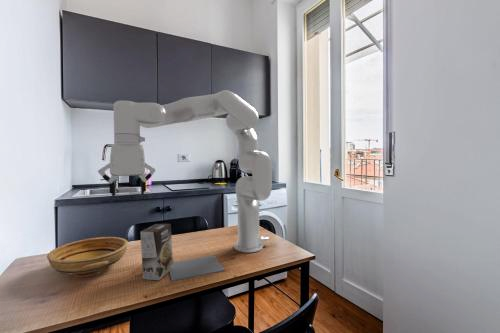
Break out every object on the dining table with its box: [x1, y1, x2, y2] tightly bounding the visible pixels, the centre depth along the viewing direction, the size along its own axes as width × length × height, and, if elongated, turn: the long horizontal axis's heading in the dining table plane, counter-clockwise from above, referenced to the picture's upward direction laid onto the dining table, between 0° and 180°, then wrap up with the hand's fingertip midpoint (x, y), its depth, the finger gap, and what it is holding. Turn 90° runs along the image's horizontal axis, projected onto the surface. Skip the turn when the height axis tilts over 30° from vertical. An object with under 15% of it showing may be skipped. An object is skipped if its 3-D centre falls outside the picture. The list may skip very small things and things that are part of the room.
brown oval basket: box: [46, 236, 129, 278], centre depth 89 cm, size 30×24×8 cm
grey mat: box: [168, 255, 225, 282], centre depth 90 cm, size 18×14×1 cm
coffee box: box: [139, 223, 174, 281], centre depth 85 cm, size 9×6×16 cm
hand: (128, 194), depth 81 cm, fingers open, 7 cm apart
